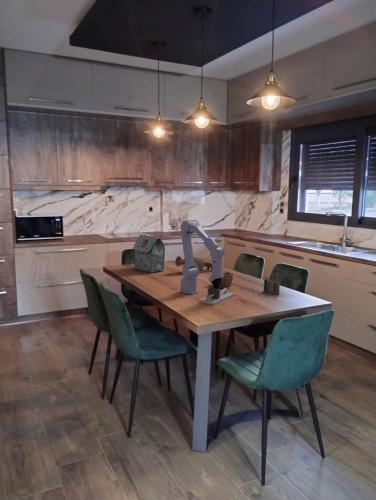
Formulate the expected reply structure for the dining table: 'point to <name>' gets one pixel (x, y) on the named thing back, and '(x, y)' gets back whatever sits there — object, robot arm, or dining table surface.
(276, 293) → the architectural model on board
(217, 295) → the collar
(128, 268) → the dining table surface
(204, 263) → the olive brown long piece
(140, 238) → the lunch bag
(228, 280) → the brown lobed block
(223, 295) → the rail board
